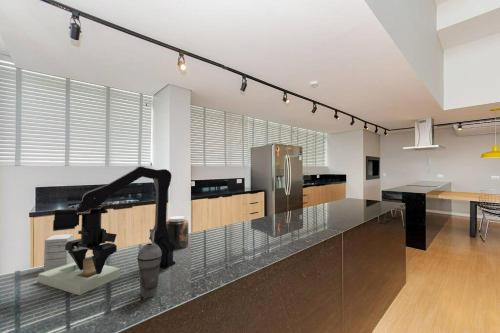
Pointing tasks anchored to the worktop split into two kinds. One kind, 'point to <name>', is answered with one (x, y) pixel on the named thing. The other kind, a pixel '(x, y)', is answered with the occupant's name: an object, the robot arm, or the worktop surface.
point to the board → (77, 278)
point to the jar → (178, 231)
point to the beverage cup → (149, 268)
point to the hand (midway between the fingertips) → (90, 271)
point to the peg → (88, 268)
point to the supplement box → (57, 251)
